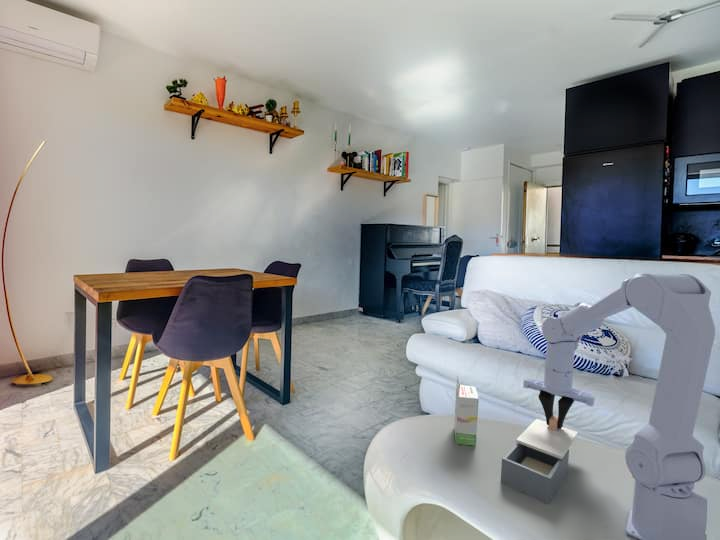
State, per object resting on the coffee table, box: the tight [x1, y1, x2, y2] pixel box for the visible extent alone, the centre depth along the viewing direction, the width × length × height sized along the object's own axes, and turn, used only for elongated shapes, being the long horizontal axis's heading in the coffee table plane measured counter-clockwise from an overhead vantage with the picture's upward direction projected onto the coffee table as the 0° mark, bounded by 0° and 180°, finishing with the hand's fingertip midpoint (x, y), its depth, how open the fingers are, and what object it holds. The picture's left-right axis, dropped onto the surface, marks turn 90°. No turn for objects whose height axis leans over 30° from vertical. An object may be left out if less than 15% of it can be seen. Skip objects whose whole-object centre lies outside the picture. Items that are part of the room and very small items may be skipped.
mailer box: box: [500, 442, 570, 505], centre depth 76 cm, size 9×14×5 cm, turn 138°
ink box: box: [453, 374, 480, 447], centre depth 91 cm, size 9×5×15 cm, turn 168°
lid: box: [515, 413, 579, 459], centre depth 82 cm, size 9×14×3 cm, turn 138°
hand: (554, 425), depth 86 cm, fingers closed on lid, 2 cm apart
